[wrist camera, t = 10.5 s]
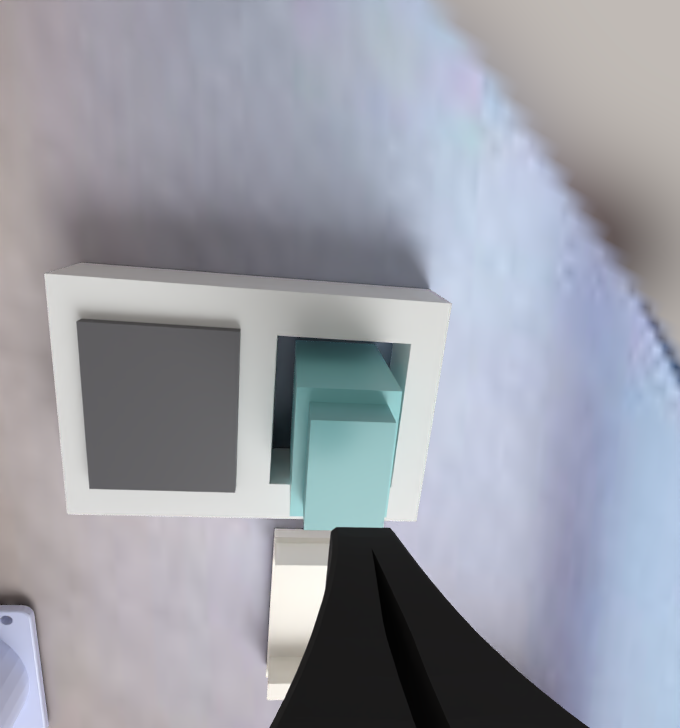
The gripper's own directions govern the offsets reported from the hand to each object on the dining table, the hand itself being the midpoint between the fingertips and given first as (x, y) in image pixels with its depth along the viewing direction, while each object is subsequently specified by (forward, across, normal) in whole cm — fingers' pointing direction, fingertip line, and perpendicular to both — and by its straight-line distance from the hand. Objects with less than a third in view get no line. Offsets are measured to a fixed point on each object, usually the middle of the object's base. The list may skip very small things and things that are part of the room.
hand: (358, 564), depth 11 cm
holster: (+10, -1, +11) cm, 15 cm away
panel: (+10, +3, 0) cm, 10 cm away
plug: (+10, 0, 0) cm, 10 cm away
